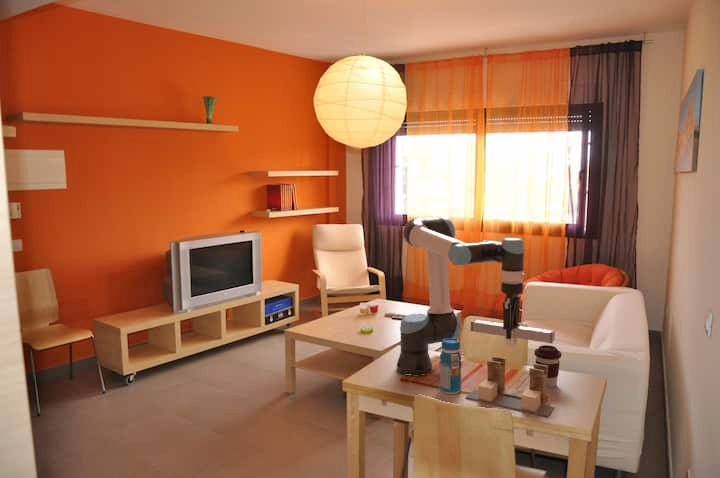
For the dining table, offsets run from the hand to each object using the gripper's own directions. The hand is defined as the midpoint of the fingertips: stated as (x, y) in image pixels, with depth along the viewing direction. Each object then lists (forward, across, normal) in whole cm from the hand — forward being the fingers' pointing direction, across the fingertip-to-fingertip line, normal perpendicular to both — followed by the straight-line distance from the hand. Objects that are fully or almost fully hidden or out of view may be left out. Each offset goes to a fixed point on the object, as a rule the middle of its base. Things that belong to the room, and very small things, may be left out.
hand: (511, 345), depth 199 cm
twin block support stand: (+22, -1, 0) cm, 22 cm away
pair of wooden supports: (+22, +8, 0) cm, 23 cm away
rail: (-4, 0, 0) cm, 4 cm away
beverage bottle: (+22, -1, +23) cm, 32 cm away
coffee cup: (+22, +24, -7) cm, 33 cm away
